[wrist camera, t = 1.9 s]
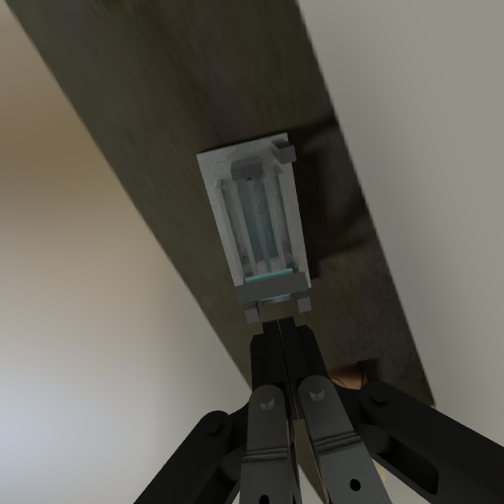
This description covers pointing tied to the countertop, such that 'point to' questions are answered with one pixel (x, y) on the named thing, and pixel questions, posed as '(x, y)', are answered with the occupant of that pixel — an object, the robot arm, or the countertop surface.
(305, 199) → the countertop surface
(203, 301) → the countertop surface
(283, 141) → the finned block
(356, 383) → the sunglasses case
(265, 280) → the teal tile grey cap
